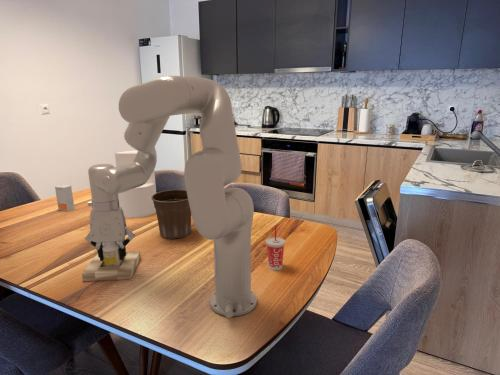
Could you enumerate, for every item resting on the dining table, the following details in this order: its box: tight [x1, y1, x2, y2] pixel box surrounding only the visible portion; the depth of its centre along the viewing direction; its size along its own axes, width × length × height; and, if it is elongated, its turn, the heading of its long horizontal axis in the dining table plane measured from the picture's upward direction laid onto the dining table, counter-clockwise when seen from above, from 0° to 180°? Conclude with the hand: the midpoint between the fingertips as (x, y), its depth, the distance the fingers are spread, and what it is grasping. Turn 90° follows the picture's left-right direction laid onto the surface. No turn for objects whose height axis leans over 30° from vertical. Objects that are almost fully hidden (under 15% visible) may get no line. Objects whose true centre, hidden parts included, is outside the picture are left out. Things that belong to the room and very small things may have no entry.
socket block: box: [81, 250, 142, 282], centre depth 113 cm, size 14×14×2 cm
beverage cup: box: [265, 225, 286, 271], centre depth 112 cm, size 6×6×14 cm
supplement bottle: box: [102, 242, 123, 267], centre depth 111 cm, size 5×5×10 cm
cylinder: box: [114, 150, 157, 219], centre depth 164 cm, size 17×17×28 cm
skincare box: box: [54, 184, 75, 212], centre depth 169 cm, size 6×4×12 cm
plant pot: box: [151, 189, 192, 240], centre depth 139 cm, size 16×16×16 cm
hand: (112, 258), depth 112 cm, fingers closed on supplement bottle, 5 cm apart
